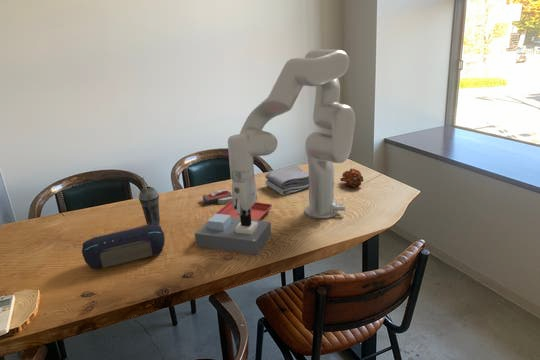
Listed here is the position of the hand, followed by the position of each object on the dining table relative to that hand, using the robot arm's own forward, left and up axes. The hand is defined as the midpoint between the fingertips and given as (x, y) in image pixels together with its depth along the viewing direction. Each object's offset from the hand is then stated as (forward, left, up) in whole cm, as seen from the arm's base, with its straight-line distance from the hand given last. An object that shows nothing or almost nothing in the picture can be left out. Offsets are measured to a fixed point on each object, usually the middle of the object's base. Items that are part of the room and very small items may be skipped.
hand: (246, 224), depth 134 cm
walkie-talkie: (+23, -32, -7) cm, 40 cm away
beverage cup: (+40, -3, -7) cm, 41 cm away
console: (+5, 0, -7) cm, 8 cm away
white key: (0, 0, -5) cm, 5 cm away
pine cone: (-26, -59, -7) cm, 65 cm away
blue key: (+10, 0, -4) cm, 11 cm away
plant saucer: (+9, -17, -7) cm, 21 cm away
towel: (0, -52, -7) cm, 52 cm away
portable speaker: (+34, +20, -7) cm, 40 cm away
